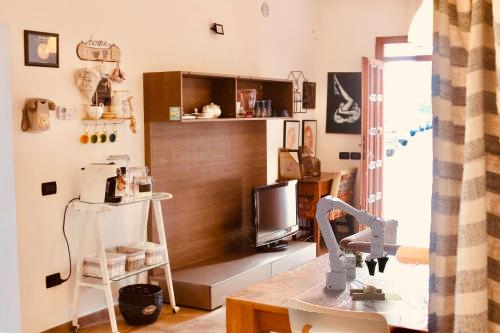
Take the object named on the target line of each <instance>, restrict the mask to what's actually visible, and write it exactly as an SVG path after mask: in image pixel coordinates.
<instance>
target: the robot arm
mask: <svg viewBox="0 0 500 333" xmlns="http://www.w3.org/2000/svg"><path fill="white" fill-rule="evenodd" d="M333 210H334V211H335V210H341V211H343V212H344V213H346V214H348V215H350V216H353V217H354V218H355V220H356V221H357V222H359V223H360V224H362V225H364V226H366V227H367V228H370V231H371V234H370V253H369V254H368V255H365V259H364V263H365V264H366V267H367V270H368V275H369V276H371V277H374V276H375V272H376V266H377V265H378V268H377V269H378V272H379V273H382V274H384V272H385V269H386V266H387V263H388V262H389V260H390V258H389V256H388V255H389V254H388V253H389V252H388V251H384V246H385V245H384V244H385V234H384V233H385V232H384V231H385V230H384V228H385V226H386V221H385V220H384V219H383V218H382V217H380V216H378V215H375V214H371V213H370V212H368V210H367V209H357V208H356V207H353V206H352V205H350V204H348V203H347V202H345V201H343V200H342V199H340V198H338V197H335V196H333V195H330V194H329V195H326V196H323V197H322V198H320V199H319V201H318V202H317V204H316V212H315V220H316V222H317V225H318V228H319V229H320V230H319V231H320V233H321V235H322V238H323V240H324V243H325V246H326V248H327V251H328V258H329V268H330V270H326V273H325V279H326V280H325V286H326V289H327V290H337V291H343V290H346V289H347V277H346V272H347V270H346V267H345V266H346V265H347V263H348V260H347V258H346V256H345V255H344V254H343V252H342V251H341V250H340V249H339V246H338V245H339V244H338V242H337V239H336V235H335V234H334V231H333V228H332V226H331V223H330V220H329V218H328V217H329V215H330V213H331V211H333ZM376 260H377V261H376Z"/></svg>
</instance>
